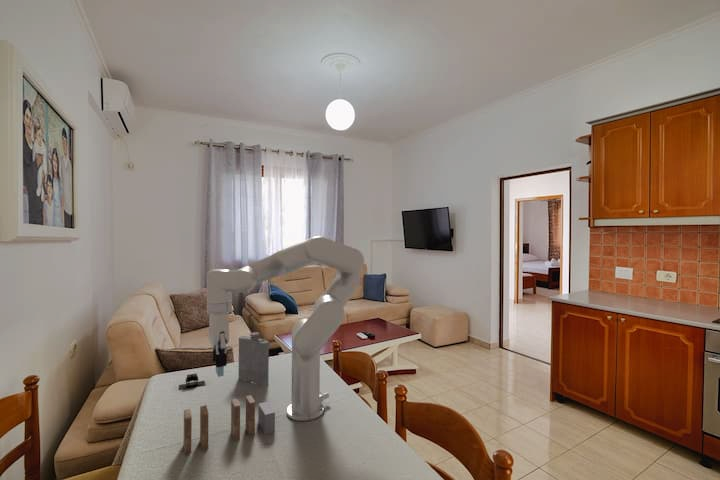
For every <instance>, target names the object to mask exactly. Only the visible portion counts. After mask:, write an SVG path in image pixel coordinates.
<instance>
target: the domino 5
mask: <svg viewBox="0 0 720 480" xmlns="http://www.w3.org/2000/svg"><path fill="white" fill-rule="evenodd" d="M255 422H256V401H255V399H254V397H253V396H252V395H251V394H250V395H246V396H245V431H246V432H247V434H248V436H249V437H252V436H255V431H256V424H255Z"/></svg>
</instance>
